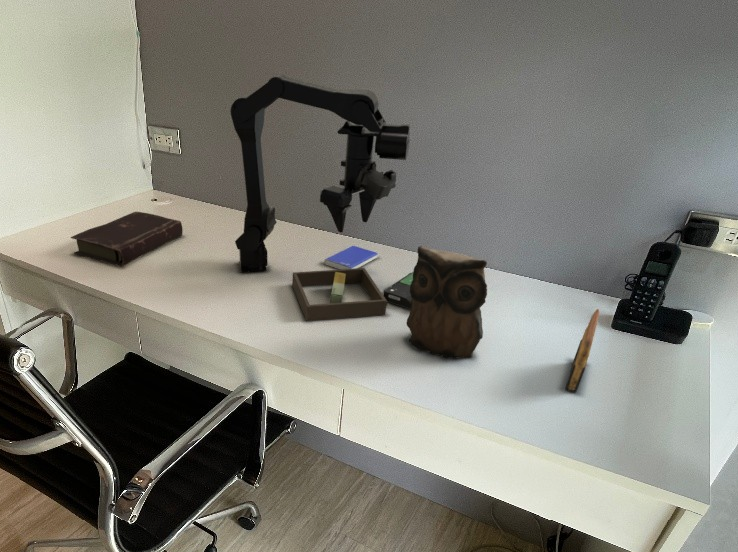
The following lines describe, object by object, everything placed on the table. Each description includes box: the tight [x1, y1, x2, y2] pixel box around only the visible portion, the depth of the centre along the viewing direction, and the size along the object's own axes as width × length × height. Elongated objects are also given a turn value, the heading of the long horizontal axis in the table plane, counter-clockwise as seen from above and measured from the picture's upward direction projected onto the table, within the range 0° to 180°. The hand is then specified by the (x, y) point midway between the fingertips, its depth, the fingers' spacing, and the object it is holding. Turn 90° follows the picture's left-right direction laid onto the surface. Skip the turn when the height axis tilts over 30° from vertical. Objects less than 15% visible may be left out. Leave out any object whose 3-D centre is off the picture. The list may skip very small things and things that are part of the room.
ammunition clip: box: [564, 308, 600, 394], centre depth 101 cm, size 11×2×12 cm, turn 149°
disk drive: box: [383, 271, 413, 310], centre depth 131 cm, size 10×3×15 cm
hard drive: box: [324, 245, 379, 270], centre depth 148 cm, size 2×8×12 cm
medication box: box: [328, 272, 346, 303], centre depth 129 cm, size 12×3×4 cm, turn 171°
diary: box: [70, 211, 184, 267], centre depth 156 cm, size 19×25×5 cm
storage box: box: [291, 267, 388, 322], centre depth 129 cm, size 18×18×4 cm
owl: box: [406, 245, 488, 359], centre depth 108 cm, size 13×13×20 cm
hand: (352, 226), depth 132 cm, fingers open, 9 cm apart
